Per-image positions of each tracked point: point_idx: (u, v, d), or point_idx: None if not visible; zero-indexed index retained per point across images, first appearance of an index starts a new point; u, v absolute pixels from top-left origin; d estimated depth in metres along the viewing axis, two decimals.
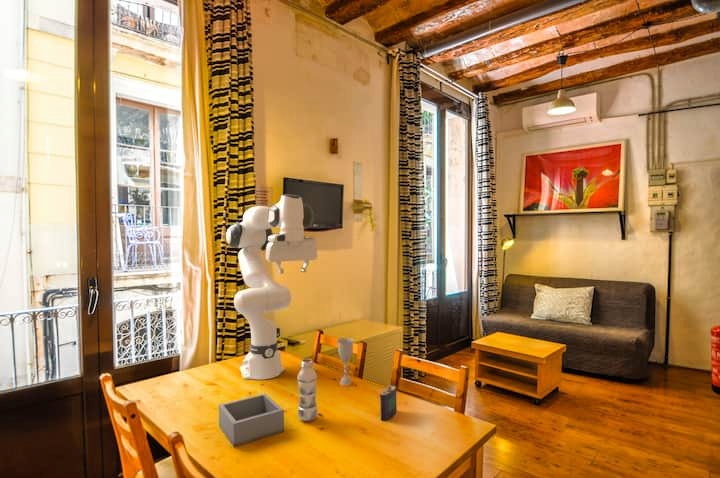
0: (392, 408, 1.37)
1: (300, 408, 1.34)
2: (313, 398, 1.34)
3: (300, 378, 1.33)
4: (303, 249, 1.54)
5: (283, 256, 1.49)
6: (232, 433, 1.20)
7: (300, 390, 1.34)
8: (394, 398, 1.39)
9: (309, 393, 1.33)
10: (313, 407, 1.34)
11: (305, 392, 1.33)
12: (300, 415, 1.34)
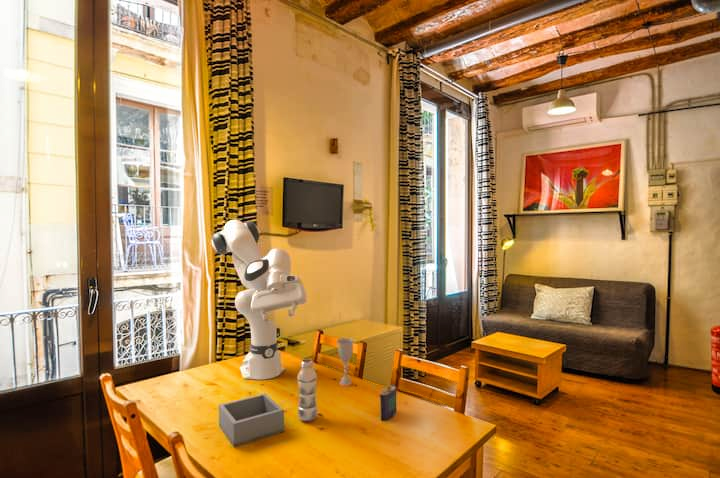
0: (392, 408, 1.37)
1: (300, 408, 1.34)
2: (313, 398, 1.34)
3: (300, 378, 1.33)
4: None
5: None
6: (232, 433, 1.20)
7: (300, 390, 1.34)
8: (394, 398, 1.39)
9: (309, 393, 1.33)
10: (313, 407, 1.34)
11: (305, 392, 1.33)
12: (300, 415, 1.34)
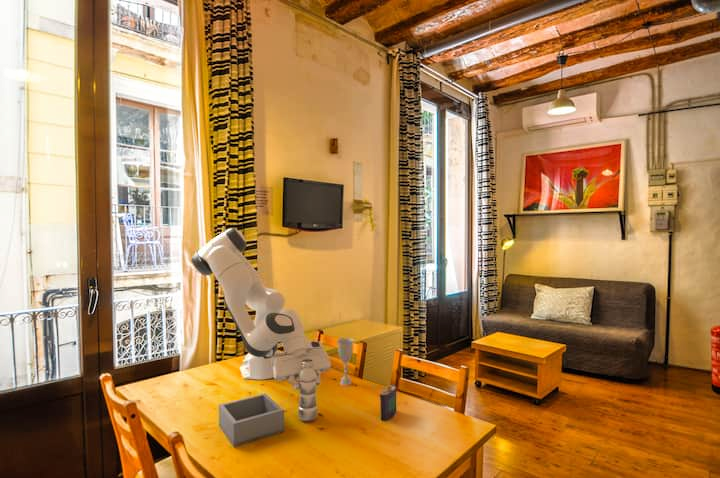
0: (392, 408, 1.37)
1: (300, 408, 1.34)
2: (313, 398, 1.34)
3: (300, 378, 1.33)
4: None
5: None
6: (232, 433, 1.20)
7: (300, 390, 1.34)
8: (394, 398, 1.39)
9: (309, 393, 1.33)
10: (313, 407, 1.34)
11: (305, 392, 1.33)
12: (300, 415, 1.34)
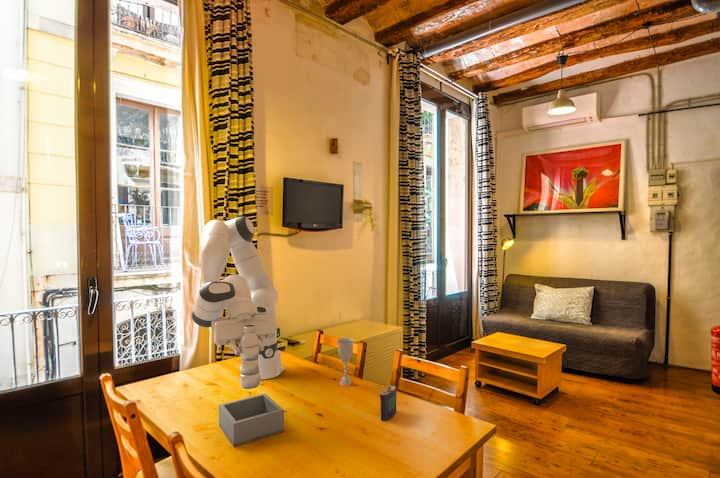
0: (392, 408, 1.37)
1: (241, 375, 1.28)
2: (255, 365, 1.28)
3: (241, 343, 1.27)
4: None
5: None
6: (232, 433, 1.20)
7: (241, 356, 1.28)
8: (394, 398, 1.39)
9: (250, 359, 1.27)
10: (255, 374, 1.28)
11: (246, 358, 1.27)
12: (241, 382, 1.27)
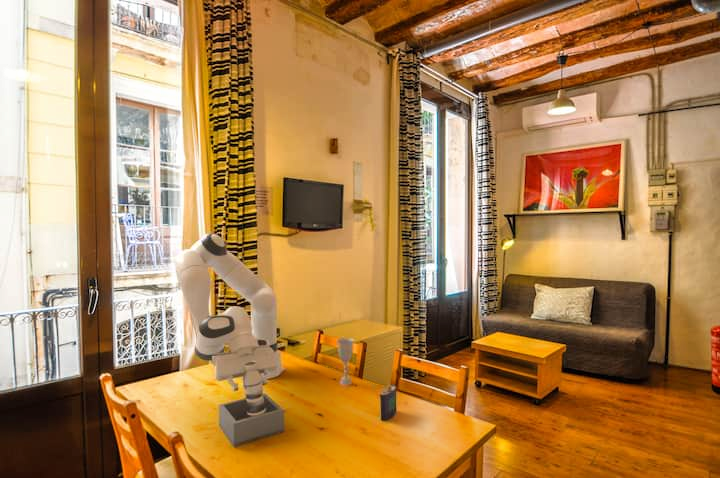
0: (392, 408, 1.37)
1: (248, 413, 1.29)
2: (260, 401, 1.29)
3: (244, 382, 1.28)
4: None
5: None
6: (232, 433, 1.20)
7: (246, 395, 1.29)
8: (394, 398, 1.39)
9: (255, 397, 1.28)
10: (261, 411, 1.29)
11: (251, 396, 1.28)
12: None
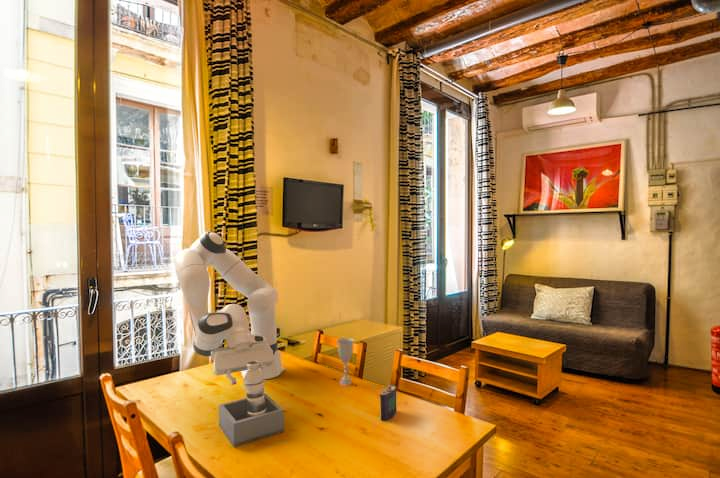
0: (392, 408, 1.37)
1: (248, 412, 1.29)
2: (261, 401, 1.29)
3: (246, 381, 1.28)
4: None
5: None
6: (232, 433, 1.20)
7: (247, 394, 1.29)
8: (394, 398, 1.39)
9: (256, 396, 1.28)
10: (262, 410, 1.29)
11: (252, 395, 1.28)
12: None
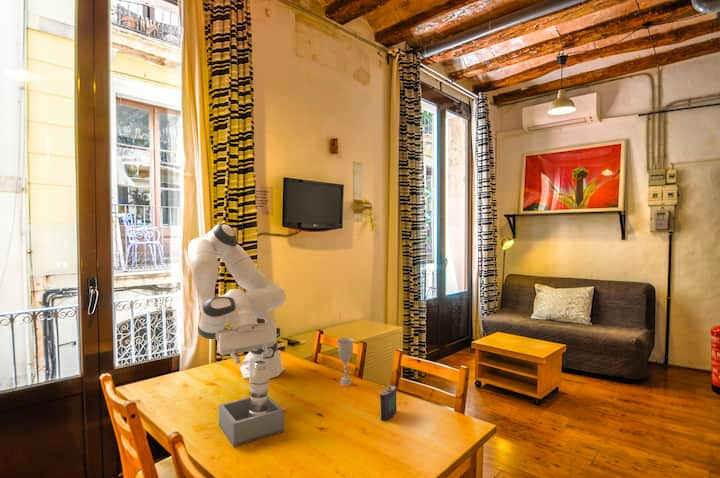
0: (392, 408, 1.37)
1: (250, 411, 1.29)
2: (264, 401, 1.30)
3: (251, 380, 1.29)
4: None
5: None
6: (232, 433, 1.20)
7: (251, 392, 1.29)
8: (394, 398, 1.39)
9: (260, 396, 1.29)
10: (263, 411, 1.29)
11: (256, 395, 1.29)
12: None
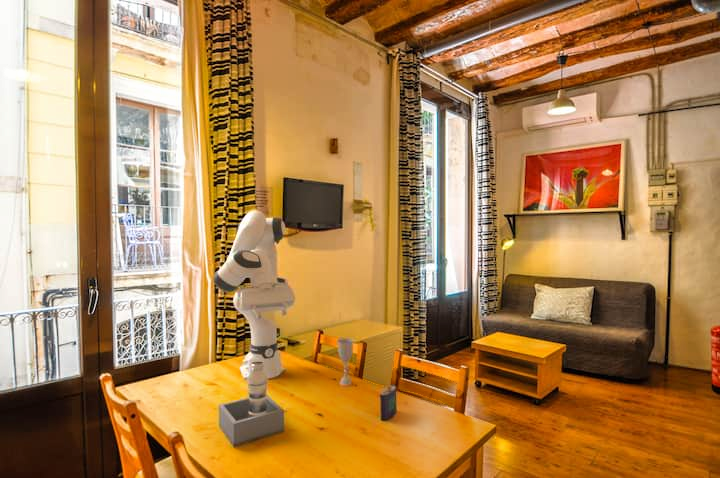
0: (392, 408, 1.37)
1: (249, 412, 1.29)
2: (263, 402, 1.29)
3: (249, 381, 1.28)
4: None
5: None
6: (232, 433, 1.20)
7: (249, 393, 1.29)
8: (394, 398, 1.39)
9: (258, 397, 1.28)
10: (263, 411, 1.29)
11: (254, 396, 1.28)
12: None
